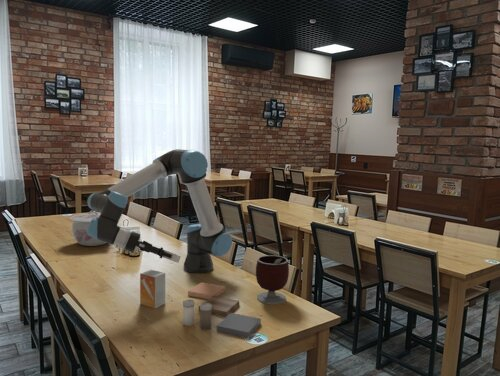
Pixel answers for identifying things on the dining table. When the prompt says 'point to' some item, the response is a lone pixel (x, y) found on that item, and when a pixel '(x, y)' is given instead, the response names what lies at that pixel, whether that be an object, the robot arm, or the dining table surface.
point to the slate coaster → (239, 325)
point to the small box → (152, 288)
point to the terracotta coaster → (206, 290)
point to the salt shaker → (188, 312)
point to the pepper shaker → (205, 316)
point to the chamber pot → (84, 228)
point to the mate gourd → (272, 278)
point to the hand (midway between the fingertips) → (177, 258)
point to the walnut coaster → (222, 305)
